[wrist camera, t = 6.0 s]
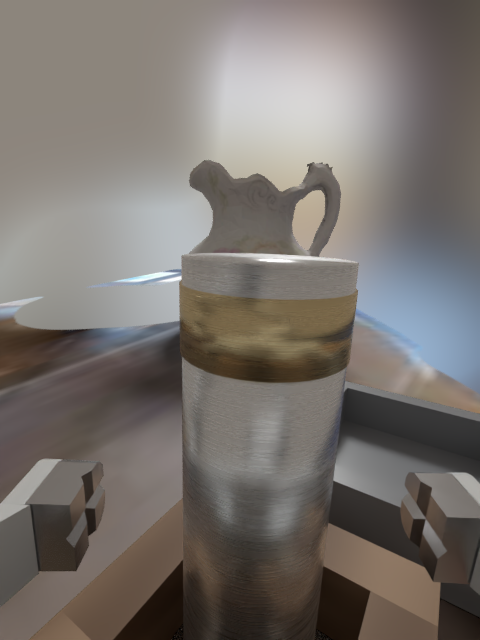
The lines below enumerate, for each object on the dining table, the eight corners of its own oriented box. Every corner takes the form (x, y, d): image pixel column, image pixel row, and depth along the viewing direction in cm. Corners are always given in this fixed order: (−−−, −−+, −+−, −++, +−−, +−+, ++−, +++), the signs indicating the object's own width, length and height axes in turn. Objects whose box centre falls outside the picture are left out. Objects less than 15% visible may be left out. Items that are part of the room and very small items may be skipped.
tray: (264, 511, 19) (267, 454, 18) (332, 417, 29) (336, 378, 28) (553, 654, 13) (579, 578, 12) (512, 473, 23) (524, 424, 22)
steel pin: (154, 712, 11) (138, 255, 7) (228, 599, 14) (240, 251, 11) (272, 832, 9) (325, 272, 5) (325, 665, 12) (378, 260, 9)
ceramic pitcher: (296, 322, 65) (302, 183, 61) (355, 347, 46) (369, 148, 42) (180, 326, 60) (177, 174, 55) (194, 356, 41) (191, 130, 37)
